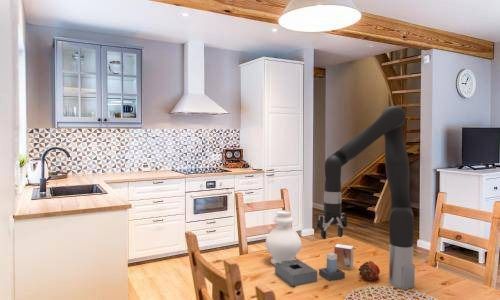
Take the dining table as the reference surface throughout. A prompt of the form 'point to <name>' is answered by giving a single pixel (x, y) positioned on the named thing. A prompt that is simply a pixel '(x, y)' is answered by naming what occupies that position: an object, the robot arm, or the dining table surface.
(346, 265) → the small box
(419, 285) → the dining table surface
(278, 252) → the decorative vase
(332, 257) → the plug
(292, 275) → the port
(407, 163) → the robot arm
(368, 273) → the dragon fruit
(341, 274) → the holster
